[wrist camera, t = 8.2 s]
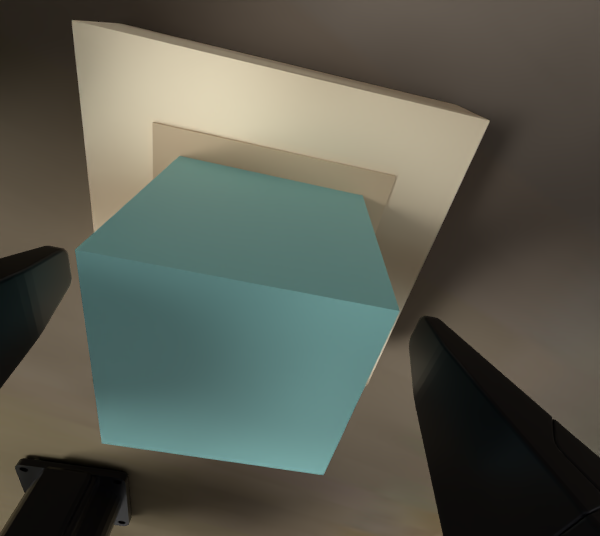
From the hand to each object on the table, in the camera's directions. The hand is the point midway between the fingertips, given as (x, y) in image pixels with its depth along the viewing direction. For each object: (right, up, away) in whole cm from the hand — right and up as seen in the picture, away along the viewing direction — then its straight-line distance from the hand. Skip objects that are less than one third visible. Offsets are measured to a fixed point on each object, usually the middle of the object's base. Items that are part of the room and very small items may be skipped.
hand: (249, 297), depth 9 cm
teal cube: (0, +1, +2) cm, 2 cm away
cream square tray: (0, +3, +4) cm, 5 cm away
